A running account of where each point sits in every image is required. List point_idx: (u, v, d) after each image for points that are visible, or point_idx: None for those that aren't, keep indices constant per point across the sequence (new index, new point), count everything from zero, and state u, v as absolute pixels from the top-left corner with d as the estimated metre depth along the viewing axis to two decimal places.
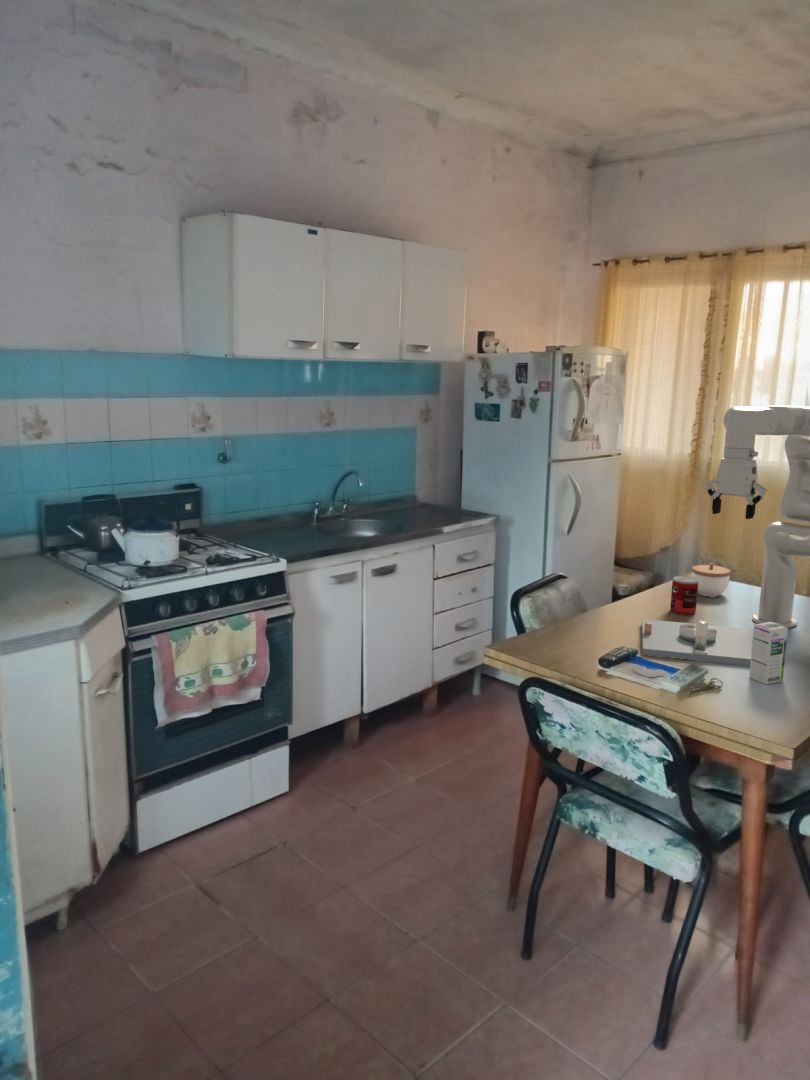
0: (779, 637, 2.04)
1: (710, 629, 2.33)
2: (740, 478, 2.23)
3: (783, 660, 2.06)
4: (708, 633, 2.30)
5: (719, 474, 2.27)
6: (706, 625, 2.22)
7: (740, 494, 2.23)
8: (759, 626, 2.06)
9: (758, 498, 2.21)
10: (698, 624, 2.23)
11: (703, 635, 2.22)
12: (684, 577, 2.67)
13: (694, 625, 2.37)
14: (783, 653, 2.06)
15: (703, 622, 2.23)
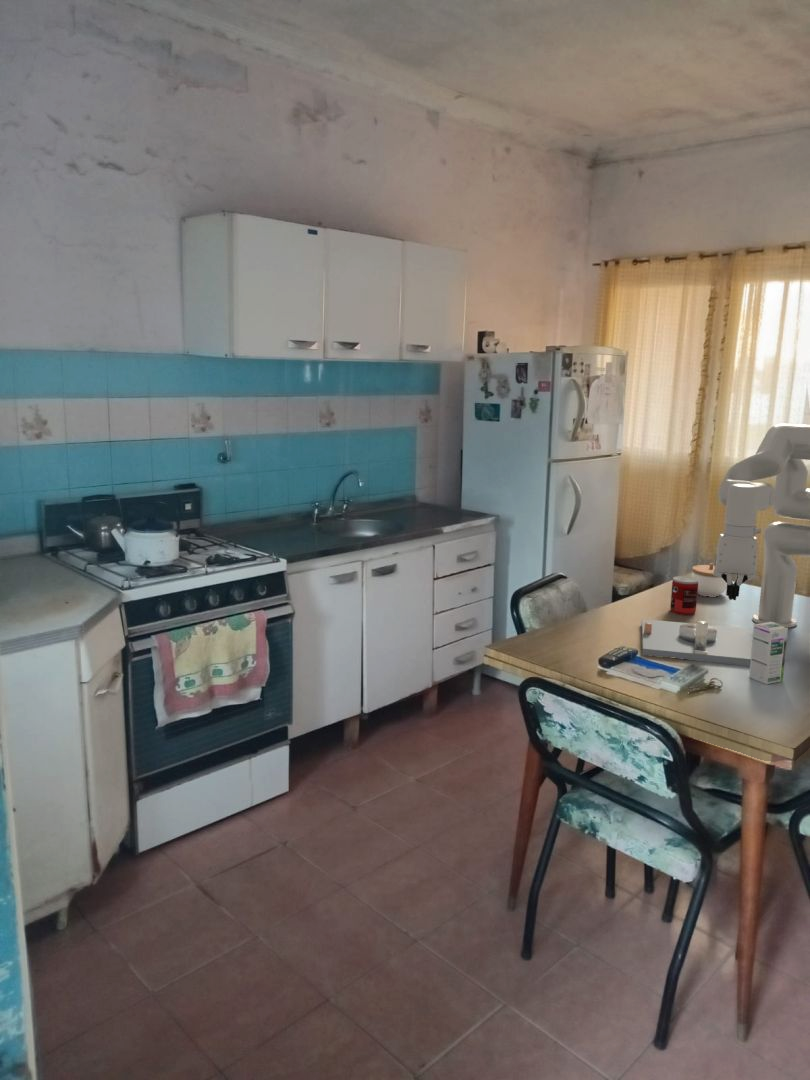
0: (779, 637, 2.04)
1: (710, 629, 2.33)
2: (747, 556, 2.14)
3: (783, 660, 2.06)
4: (708, 633, 2.30)
5: (722, 553, 2.16)
6: (706, 625, 2.22)
7: (746, 572, 2.15)
8: (759, 626, 2.06)
9: (746, 578, 2.17)
10: (698, 624, 2.23)
11: (703, 635, 2.22)
12: (684, 577, 2.67)
13: (694, 625, 2.37)
14: (783, 653, 2.06)
15: (703, 622, 2.23)
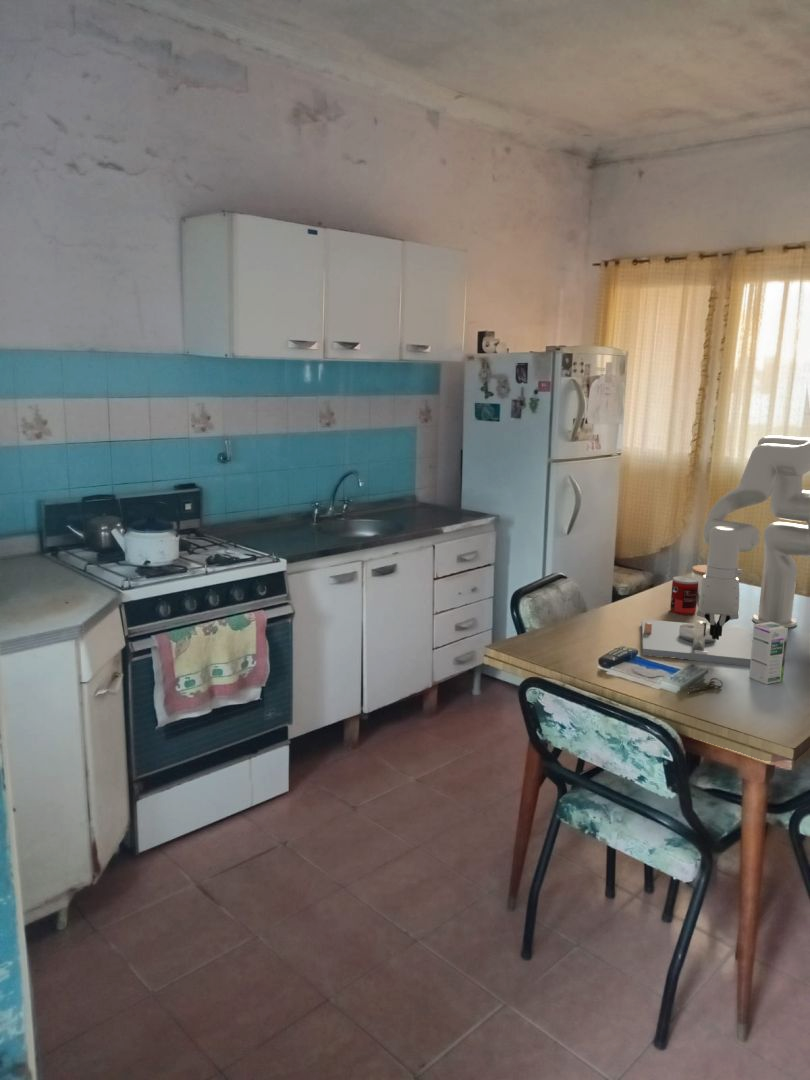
0: (779, 637, 2.04)
1: None
2: (730, 598, 2.18)
3: (783, 660, 2.06)
4: (707, 633, 2.30)
5: (705, 594, 2.19)
6: (704, 625, 2.22)
7: (729, 613, 2.19)
8: (759, 626, 2.06)
9: (728, 618, 2.20)
10: (696, 624, 2.23)
11: (701, 635, 2.23)
12: (684, 577, 2.67)
13: (695, 625, 2.37)
14: (783, 653, 2.06)
15: (701, 622, 2.23)
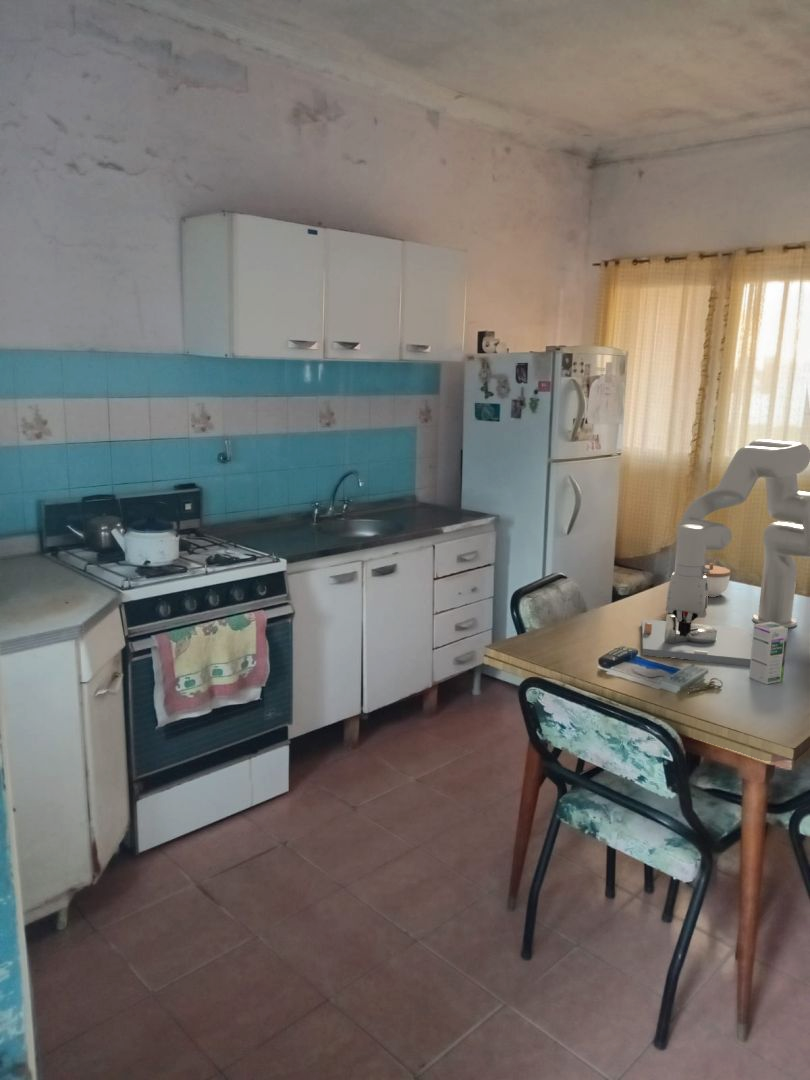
0: (779, 637, 2.04)
1: (708, 632, 2.31)
2: (694, 595, 2.20)
3: (783, 660, 2.06)
4: (695, 633, 2.30)
5: (671, 590, 2.24)
6: (671, 618, 2.27)
7: (694, 611, 2.21)
8: (759, 626, 2.06)
9: (695, 616, 2.23)
10: (666, 616, 2.29)
11: (668, 628, 2.28)
12: None
13: (704, 626, 2.36)
14: (783, 653, 2.06)
15: (673, 616, 2.28)
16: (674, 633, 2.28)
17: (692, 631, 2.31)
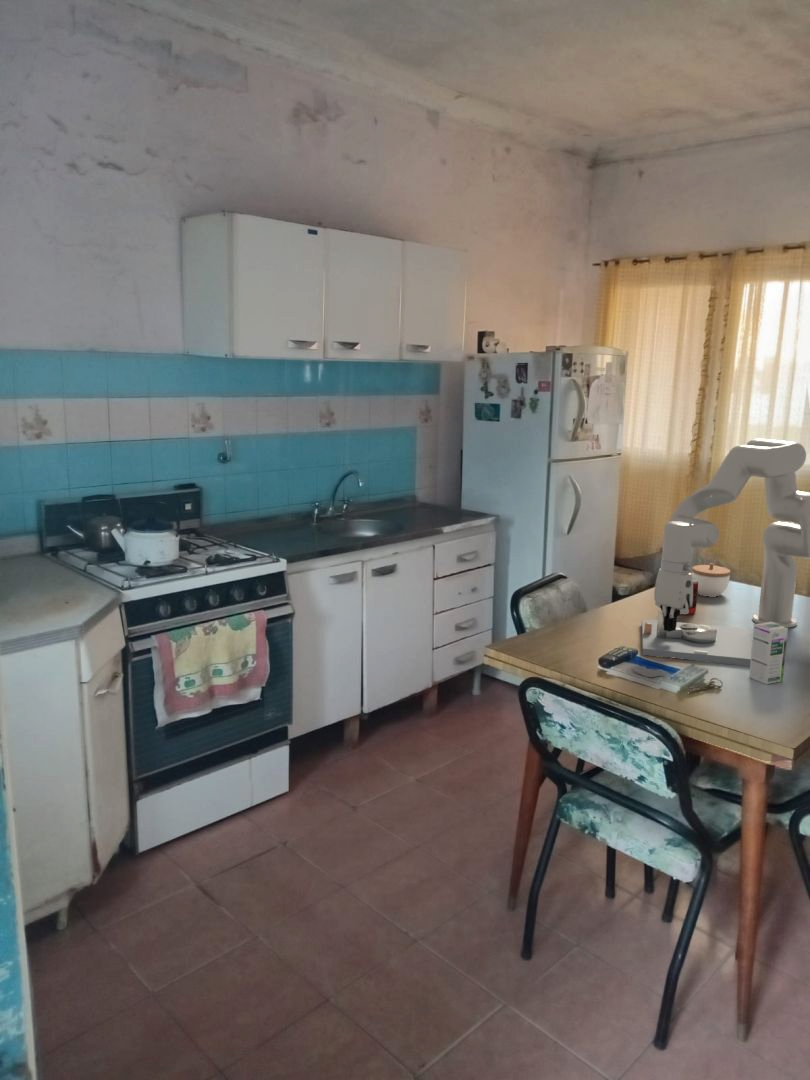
0: (779, 637, 2.04)
1: (703, 632, 2.30)
2: (674, 591, 2.24)
3: (783, 660, 2.06)
4: (688, 631, 2.31)
5: (657, 584, 2.29)
6: (660, 613, 2.32)
7: (675, 606, 2.25)
8: (759, 626, 2.06)
9: (677, 612, 2.26)
10: None
11: (658, 622, 2.33)
12: None
13: (708, 628, 2.34)
14: (783, 653, 2.06)
15: None
16: (663, 628, 2.33)
17: (687, 629, 2.33)
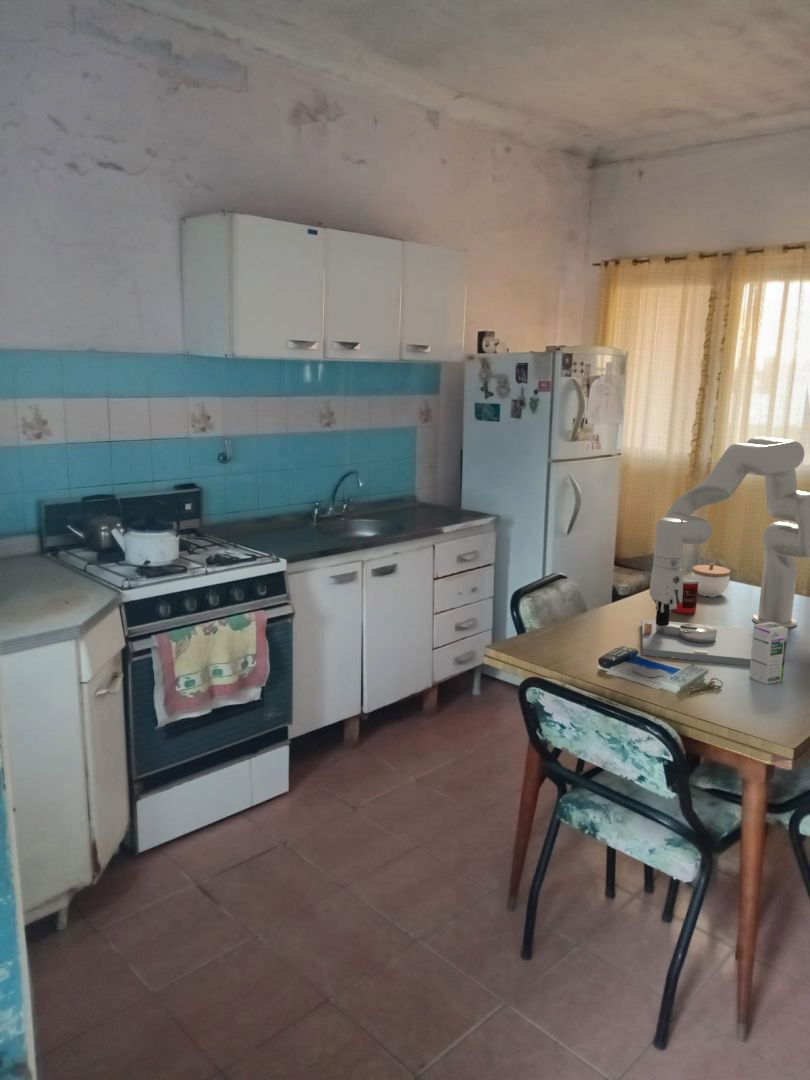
0: (779, 637, 2.04)
1: (698, 632, 2.31)
2: (663, 586, 2.28)
3: (783, 660, 2.06)
4: (684, 629, 2.33)
5: (651, 579, 2.34)
6: None
7: (663, 601, 2.29)
8: (759, 626, 2.06)
9: (666, 607, 2.30)
10: None
11: None
12: (684, 577, 2.67)
13: (710, 629, 2.33)
14: (783, 653, 2.06)
15: None
16: None
17: (686, 628, 2.34)
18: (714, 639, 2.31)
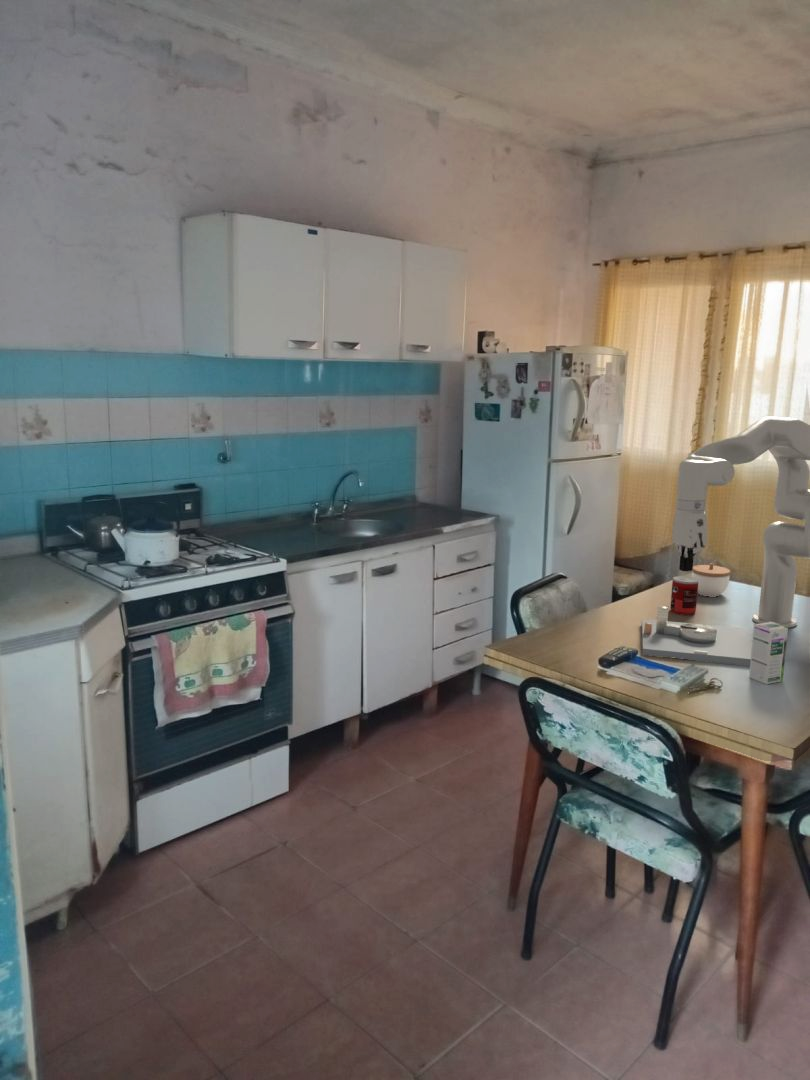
0: (779, 637, 2.04)
1: (698, 632, 2.31)
2: (686, 529, 2.23)
3: (783, 660, 2.06)
4: (684, 629, 2.33)
5: (674, 523, 2.29)
6: (658, 609, 2.37)
7: (687, 545, 2.24)
8: (759, 626, 2.06)
9: (690, 552, 2.24)
10: None
11: None
12: (684, 577, 2.67)
13: (710, 629, 2.33)
14: (783, 653, 2.06)
15: (663, 607, 2.37)
16: (661, 624, 2.37)
17: (686, 628, 2.34)
18: (714, 639, 2.31)
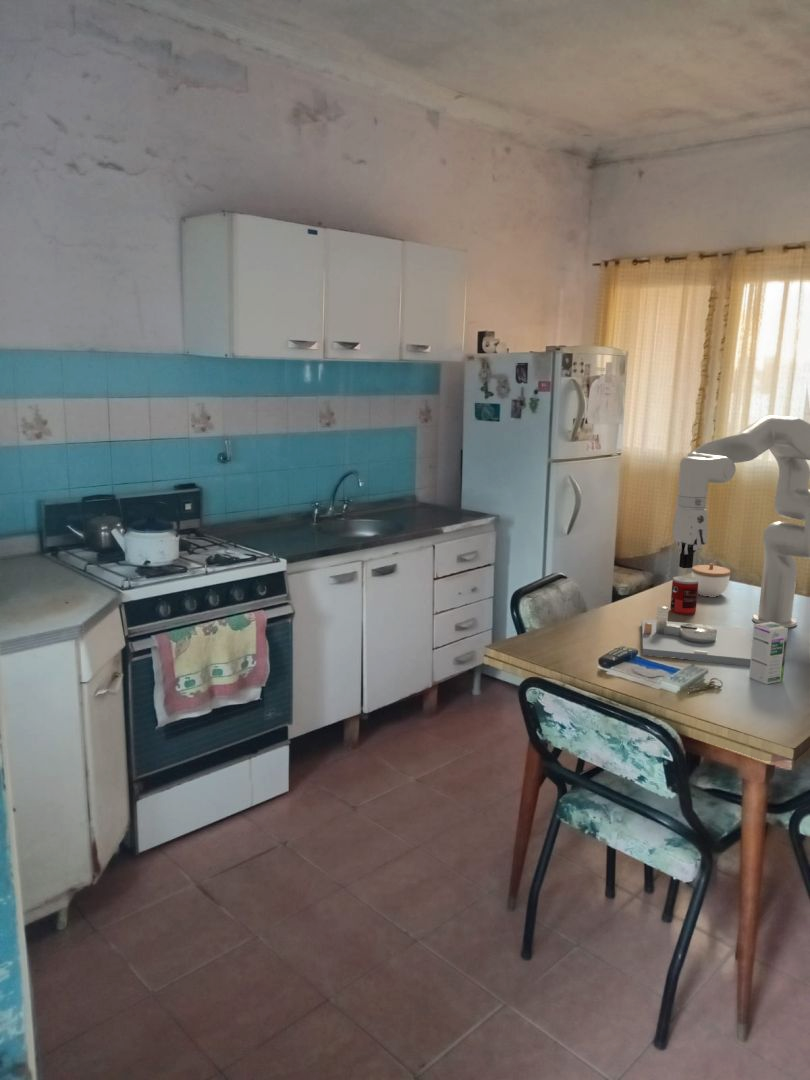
0: (779, 637, 2.04)
1: (698, 632, 2.31)
2: (687, 526, 2.23)
3: (783, 660, 2.06)
4: (684, 629, 2.33)
5: (674, 520, 2.29)
6: (658, 609, 2.37)
7: (687, 542, 2.24)
8: (759, 626, 2.06)
9: (690, 548, 2.24)
10: None
11: None
12: (684, 577, 2.67)
13: (710, 629, 2.33)
14: (783, 653, 2.06)
15: (663, 607, 2.37)
16: (661, 624, 2.37)
17: (686, 628, 2.34)
18: (714, 639, 2.31)
